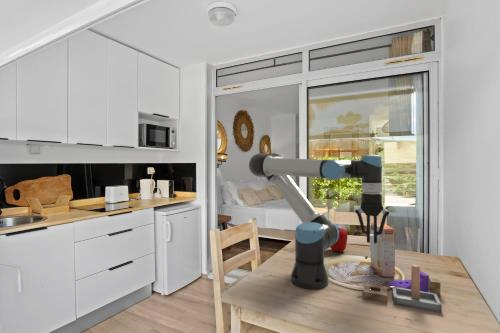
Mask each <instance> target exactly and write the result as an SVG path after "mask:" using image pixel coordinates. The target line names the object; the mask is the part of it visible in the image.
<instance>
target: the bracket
mask: <svg viewBox="0 0 500 333" xmlns="http://www.w3.org/2000/svg"><path fill="white" fill-rule="evenodd" d="M429 278H430V275H429V274H427V273H425V272H423V271H421V270H420V291H423V292H429ZM387 286H388V287H389V286H395V287H398V288H404V289H410V290H411V279H408V280H406V279H405V280H403V279H402V280H400V279H399V280H392V281H390V282H388V283H387ZM429 293H430V292H429Z"/></svg>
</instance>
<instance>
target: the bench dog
mask: <svg viewBox="0 0 500 333" xmlns="http://www.w3.org/2000/svg"><path fill="white" fill-rule="evenodd" d="M429 293H436V294H437V296H438V297H441V281H440V280H439V278H437V277H436V278H435V277H429Z"/></svg>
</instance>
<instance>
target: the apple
mask: <svg viewBox="0 0 500 333" xmlns="http://www.w3.org/2000/svg"><path fill="white" fill-rule="evenodd" d="M338 230H339V238H338V240H337V242H336V243H335V244H334V245H333V246H332V247H329V248H330V249H331V250H332V251H333V252H335V253H342V252H344V251H346V249H347V244H348V236H349V234H348V231H347V230H346V228H342V227H338Z"/></svg>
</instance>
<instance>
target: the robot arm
mask: <svg viewBox="0 0 500 333" xmlns="http://www.w3.org/2000/svg"><path fill="white" fill-rule="evenodd" d="M248 162H249V163H248V168H249V171H250V173H251V174H252V175H253V176H255V177H258V178H266V179H267V181H268V182H269V184H271V185H274V186H275V187H276V189H277V190H278V191H279V193H280V194H281V195H282V197H283V199H285V201H286V202H287V204H288V205H289V206H290V208H291V209H292V210H293V213H295V215H296V216H297V217H298V220H300V222H301V223H299V224H298V225H297V226H296V228H295V233H294V239H295V243H294V245H295V246H294V247H295V248H294V249H295V250H294V252H295V254H294V255H295V256H294V258H295V261H294V265H293V267H292V271H291V274H290V281H291V283H292V284H294V285H295V286H296V287H298V288H302V289H309V290H319V289H323V288H326V287H327V286H328V285H329V276H328V273H327V269H326V266H325V251H326V250H328V249H329V248H330V247H332V246H333V245H334V244H335V243H336V242H337V240H338V238H339V230H338V228H339V227H338V226H337V224H336V223H335V222H333V221H332V220H329V219H327V218H326V216H325V215H324V213H319V211H317V210H316V208H315V207H314V206H313V204H312V203H311V202H310V200H308V198H307V196H306V195H305V194H304V193H303V191H302V190H301V189H300V187H299V186H298V185H297V184H296V182H295V181H294V179H293V178H292V177H304V178H316V179H317V178H318V179H327V180H330V181H338V180H342V179H361V192H362V194H361V204H360V206H359V207H358V208H355V211H354V212H355V213H356V215H357V218H358V221H359V226H360V228H361V229H360V230H361V233H362V234H365V235H366V243H369V252H370V253H371V252H374V243H377V235H381V234H382V231H383V228H384V224H386V221H387V220H386V219H387V217H388V216H389V215H390V210H387V209H385V208H384V205H383V201H382V200H383V194H382V192H383V183H382V182H383V179H382V178H383V176H382V175H383V166H382V164H383V163H382V156H380V155H377V154H369V155H368V154H367V155H366V154H364V155H362V156H361V158H360V159H359V160H357V159H356V160H354V159H353V160H352V159H351V160H350V159H348V160H347V159H341V160H340V159H312V158H311V159H310V158H290V157H287V158H285V157H283V156H282V155H281V154H278V153H274V152H272V153H271V152H270V153H266V152H265V153H264V152H260V153H255V154H254V155H252V156H251V157H250V159H249V161H248ZM362 212H363V213H364V215H366V228H365V224H364V219H363V216H362ZM381 213H382V218H381V220H380V223H381V224H380V228H379V231H377V223H378V216H379V215H380V214H381ZM371 217H373V223H374V234H371Z"/></svg>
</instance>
